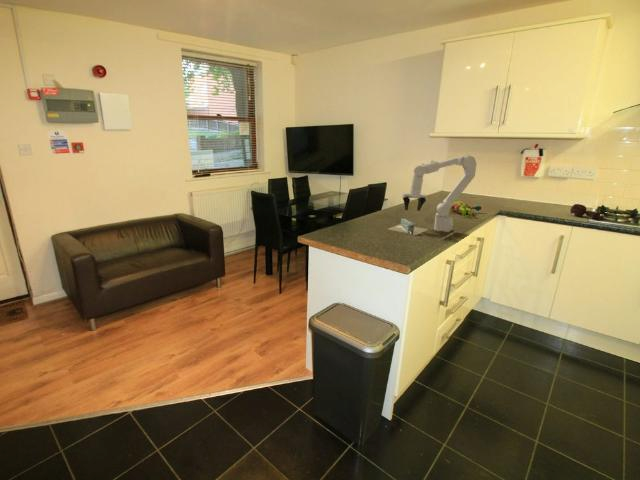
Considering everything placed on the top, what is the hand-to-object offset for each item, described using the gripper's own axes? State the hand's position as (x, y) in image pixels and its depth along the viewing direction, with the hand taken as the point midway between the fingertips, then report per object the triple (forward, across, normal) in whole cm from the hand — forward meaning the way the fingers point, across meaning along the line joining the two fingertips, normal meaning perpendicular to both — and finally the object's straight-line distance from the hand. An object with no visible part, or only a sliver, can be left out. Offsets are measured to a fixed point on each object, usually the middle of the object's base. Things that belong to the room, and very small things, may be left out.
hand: (412, 210), depth 195 cm
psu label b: (+10, +4, +7) cm, 13 cm away
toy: (+8, -54, -34) cm, 65 cm away
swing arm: (+10, +3, +5) cm, 12 cm away
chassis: (+11, +3, +5) cm, 12 cm away
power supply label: (+10, +5, +1) cm, 11 cm away
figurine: (+1, -129, -6) cm, 129 cm away
